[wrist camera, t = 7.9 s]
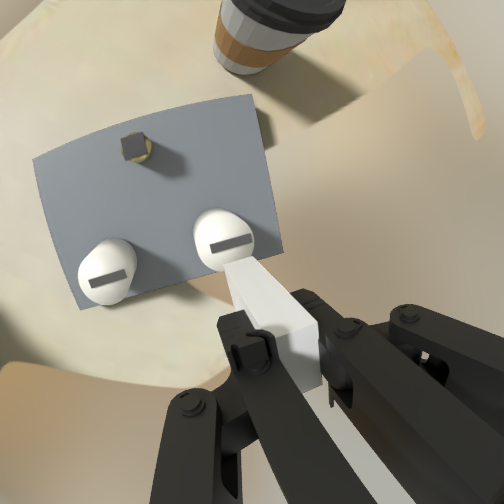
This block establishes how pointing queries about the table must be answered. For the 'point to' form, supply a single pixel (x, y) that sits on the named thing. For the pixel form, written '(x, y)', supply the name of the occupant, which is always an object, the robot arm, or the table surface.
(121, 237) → the plate
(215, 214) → the knob
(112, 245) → the knob
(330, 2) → the coffee cup
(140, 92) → the table surface
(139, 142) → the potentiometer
